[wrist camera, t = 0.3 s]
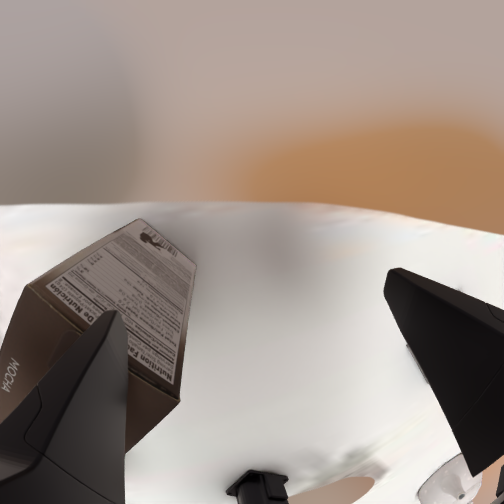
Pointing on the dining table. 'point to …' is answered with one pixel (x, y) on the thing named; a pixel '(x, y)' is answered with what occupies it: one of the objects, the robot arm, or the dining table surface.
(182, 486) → the dining table surface
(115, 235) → the coffee box
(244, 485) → the robot arm
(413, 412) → the dining table surface
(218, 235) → the dining table surface
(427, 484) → the teapot
